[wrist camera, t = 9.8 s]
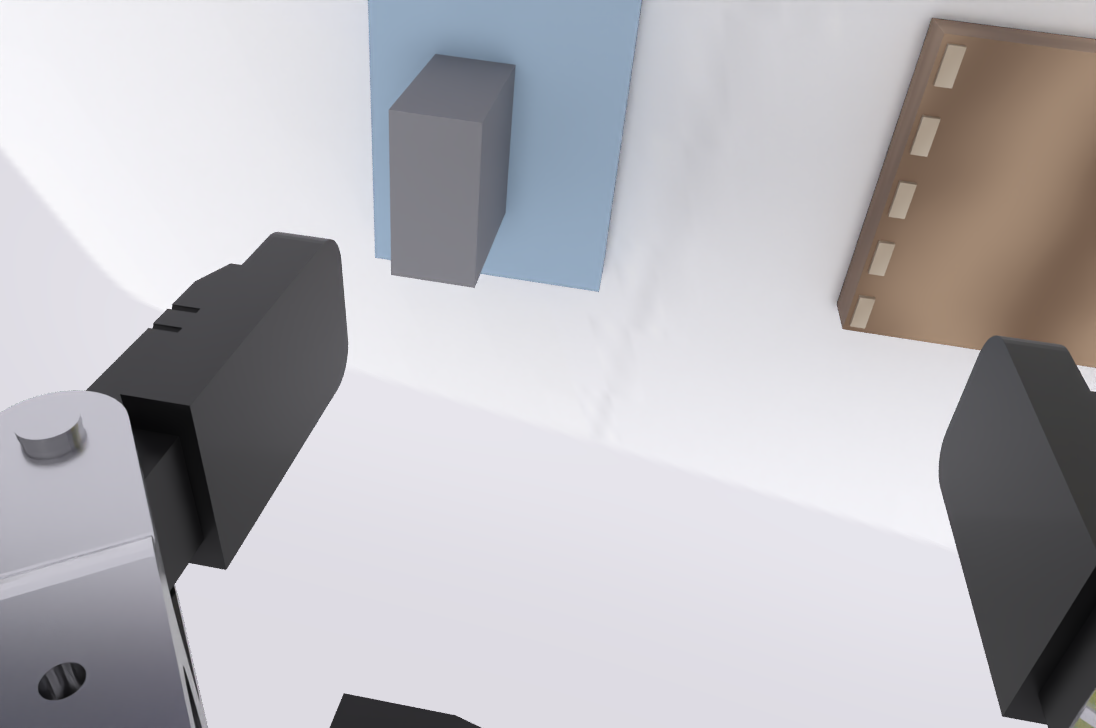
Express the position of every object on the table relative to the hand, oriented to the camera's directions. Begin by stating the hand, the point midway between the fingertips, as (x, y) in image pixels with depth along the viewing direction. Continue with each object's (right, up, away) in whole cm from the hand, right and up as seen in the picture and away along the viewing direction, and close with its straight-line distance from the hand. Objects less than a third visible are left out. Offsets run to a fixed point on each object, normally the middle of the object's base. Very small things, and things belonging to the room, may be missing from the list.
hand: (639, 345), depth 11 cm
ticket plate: (+20, +6, +23) cm, 31 cm away
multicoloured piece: (-3, +10, +25) cm, 27 cm away
